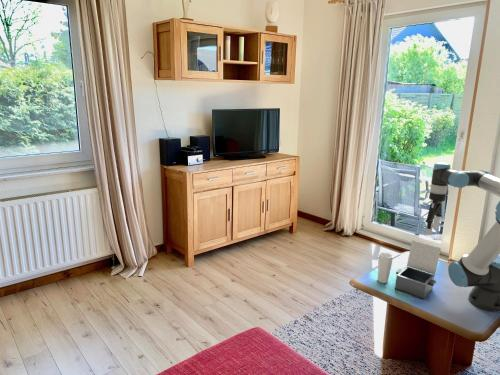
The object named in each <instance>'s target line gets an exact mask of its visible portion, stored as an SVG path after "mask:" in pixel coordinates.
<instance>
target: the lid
mask: <svg viewBox="0 0 500 375" xmlns="http://www.w3.org/2000/svg"><path fill="white" fill-rule="evenodd" d="M409 248H410V249H409V255H408V259H407V264H406V267H411V268H414V269H417V270H420V271H423V272H426V273H429V274H433V275H437V274H436V273H437V268H438V264H439V259H440V254H441V250H442V249H441V247H438V246H434V245H432V244H431V245H430V244H428V243H424V242H420V241H416V240H411V243H410V247H409Z"/></svg>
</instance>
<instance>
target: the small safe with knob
mask: <svg viewBox="0 0 500 375" xmlns="http://www.w3.org/2000/svg"><path fill="white" fill-rule="evenodd" d="M395 274H396V278H395V286H394V290H395V291H398V292H401V293H404V294H406V295H409V296H412V297H414V298H418V299H420V300H423V301H424V300H425V299H426V298H427V296H428V295H429V294H431V293H432V291H433V289H434V286H435V284H436V282H437V280H435V277H436V276H435V275H436V274H435V275H434V274H431V273H427V272H424V271H421V270H418V269H415V268H412V267H409V266H405V267H404V268H403V269H402V268H399V269H398V270H397V271H396V272H395Z"/></svg>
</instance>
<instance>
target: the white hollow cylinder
mask: <svg viewBox="0 0 500 375" xmlns="http://www.w3.org/2000/svg"><path fill="white" fill-rule="evenodd" d="M393 258H394V256H393V254H391V253H389V252H380V253H379V255H378V259H377V260H378V261H377V262H378V263H377V264H378V265H377V268H378V269H377V281H378V282H379V283H381V284H387V283H388V282H389V278H390V274H391V270H392V266H393Z"/></svg>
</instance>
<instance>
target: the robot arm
mask: <svg viewBox="0 0 500 375" xmlns="http://www.w3.org/2000/svg"><path fill="white" fill-rule="evenodd" d="M448 186H451V187H454V188H459V189H462V188H465V187H476V188H477V187H478V188H479V189H482V190H484V191H485V192H488V193H490V194H493V195H494V196H497V197H499V198H500V177H496V176H494V175H493V174H492V173H491V172H490V171H489V170H483V169H481V170H480V169H479V170H456V169H451V164H450V163H447V162H435V163H434V164H433V168H432V175H431V183H430V185H429V187H430V189H429V190H430V192H429V195H428V199H429V200H431V201H432V203H431V202H430V205H429V210H428V212H427V213H428V214H427V216H426V219H425V223H426V227H425V235H428V236H432V233H433V229H437V230H439V226H440V220H441V218H442V217H443V215H442V214H443V212H442V211H443V202H445V201H446V196H447V191H448ZM495 206H496V207H495V210H496V211H494V213H495V223H494V224H493V225H492V226H491V228H490V229H489V230H488V231H487V232H486V233H485V235H484V236H483V237H482V238H481V240H479V242H478V243H477V244H476V245H475V247H474V248H473V249H472V250H471V252H469V253H465V254H463V255H462V257H460V259H459V260H454V261H451V262H449V264H448V268H447V271H448V276H449V278H450V281H451V282H452V283H453V284H454V285H455V286H456V287H459V288H463V287H464V288H468V287H472V289H471V290H470V292H469V293H468V298H467V299H468V301H469V302H470V303H471V304H472V305H474V306H475V307H477V308H478V309H479V308H480V309H482V310H485V311H488V312H494V311H497V313H498V311H500V257H498V256H500V200H499V201H498V202H497V204H496V205H495Z"/></svg>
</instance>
